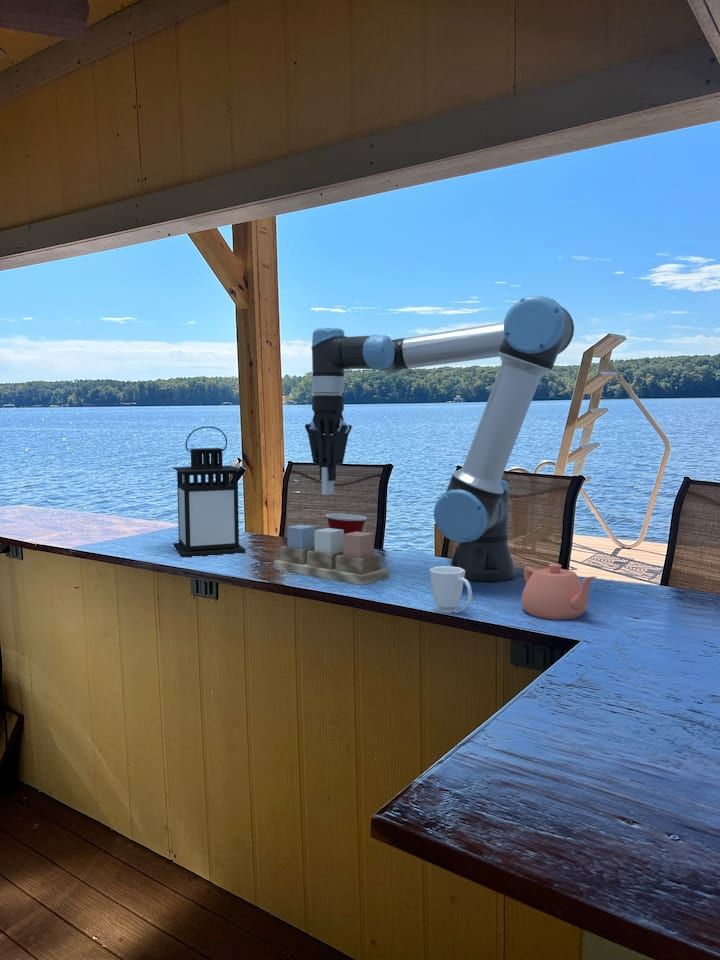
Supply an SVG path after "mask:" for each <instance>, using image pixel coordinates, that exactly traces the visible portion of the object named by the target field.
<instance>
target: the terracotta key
mask: <svg viewBox="0 0 720 960" xmlns="http://www.w3.org/2000/svg"><path fill="white" fill-rule="evenodd" d="M373 553H374V533H372V532H364V531H362V532H352V533H347V534H343V556H347V557H353V558H360V559H361V558H365V557H369V556H373V555H374V554H375V553H374V554H373Z"/></svg>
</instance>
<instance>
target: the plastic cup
mask: <svg viewBox="0 0 720 960" xmlns="http://www.w3.org/2000/svg"><path fill="white" fill-rule="evenodd" d="M325 516H326V518H327V524H328V528H333V529H341V530H344V534H347V533H352V532H363V528H364V525H365V522H366V521H367V519H368V517H367V516H362V515H360V514H359V515H357V514H347V513H328V514H327V513H326V514H325Z"/></svg>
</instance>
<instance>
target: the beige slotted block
mask: <svg viewBox="0 0 720 960" xmlns="http://www.w3.org/2000/svg"><path fill="white" fill-rule="evenodd" d="M373 554H374V555H373V556H369V557H365V558H361V559H360V558H353V557H347V556H343V551H342V552H337V553H333V554H327V553H321V552H315V547H313V548H308V549H304V550H301V549H294V548H288V545H285V546H280V547H279V555H280V557H279V559H277V560H273V564H272V565H273V570H276V571H282V572H287V573H292V574H299V575H303V576H310V577H314V578H321V579H325V580H331V581H336V582H343V583H348V584H352V585H353V584H354V585H359V586H364V585H367V584H371V583H373V582H377V581H381V580H384V579H387V578H389V568H384V567H382V554H379V553H374V552H373Z"/></svg>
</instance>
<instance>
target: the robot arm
mask: <svg viewBox="0 0 720 960" xmlns="http://www.w3.org/2000/svg"><path fill="white" fill-rule="evenodd" d="M574 334H575V324H574V320H573V318H572V316H571V314H570V312H568V310H567V309H566V308H564V307H563V306H562V305H560V304H559V302H557V301H556V300H555V299H552V298H550V297H549V296H542V295H538V294H537V295H529V296H526V297H523V298H521V299H519V300H518V301H516V302H515V303H513V305H511V306H510V308H509V309H508V311H507V313H505V317H504V321H503V322H497V323H492V324H485V325H478V326H471V327H466V328H460V329H459V328H458V329H453V330H447V331H441V332H433V333H427V334H421V335H414V336H409V337H401V338H396V339H392V338H391V337H390V336H388V335H384V334H383V335H382V334H373V335H372V334H371V335H360V336H359V335H357V336H356V335H355V336H346V335H345V331H344V329H343V328H339V327H319V328H316V329H315V330H313V332H312V341H311V348H310V349H311V356H312V357H311V358H312V359H311V360H312V363H311V365H312V369H311V370H312V376H311V378H312V379H311V393H312V394H314V395H313V396H312V397H311V410H312V411H313V416H312V421H311V422H309V423H305V425H304V429H305V431H306V433H307V435H308V441H309V448H310V452H311V458H312V462H313V464H315V465H318V467H319V479H320V480H321V495H325V496H329V495H334V494H335V481H336V480H337V479H336V478H337V467H338V466H340V465H343V464H344V459H345V455H346V449H347V443H348V440H349V439H348V438H349V434H350V433H351V430H352V428H353V426H352V424H348V423H346V422H345V419H344V416H343V411H344V410H345V407H344V406H345V403H344V402H345V397H344V396H343V395H342V394H344V392H345V390H344V389H345V380H344V379H345V378H344V377H345V370H372V371H379V372H386V373H388V374H389V373H400V372H401V371H403V370H404V371H405V370H409V369H417V368H424V367H425V368H426V367H432V366H441V365H446V364H453V363H463V362H469V361H476V360H484V359H485V360H486V359H489V358H490V359H492V358H500V360H501V365H500V367H499V370H498V373H497V375H496V378H495V381H494V384H493V386H492V389H491V391H490V393H489V397H488V399H487V401H486V404H485V407H484V410H483V413H482V415H481V416H480V417H481V418H480V419H479V420H480V421H479V424H478V425H477V429H476V431H475V434H474V436H473V440H472V442H471V444H470V447H469V450H468V452H467V455H466V458H465V460H464V463H463V465H462V467H461V468H460V469H458V470H455V471H454V472H452V475H451V478H450V480H449V482H448V483H449V484H448V485H447V488H446V491H445V492H443V493H442V494H441V495H440V496H439V497H438V500H436V503H435V504H434V508H433V519H434V523H435V524H436V525H435V526H436V527H437V529H438V531H439V532H440V533H441V534H442V535H443V536H444V537H445V538H447V539H448V540H450V541H452V542H455V543H456V542H457V543H456V547H455V549H454V552H453V556H452V559H451V562H450V565H449V566H452V567H460V568H462V569H464V570H465V576H464V578H465V579H466V580H468V581H475V582H498V581H506V580H510V579H512V578H515V570H516V569H515V564H514V561H513V557H512V553H511V551H510V548H509V543H508V535H509V534H508V533H509V532H508V531H509V529H508V528H509V496H510V492H509V484H508V482H507V481H506V480H504V479H503V478H502V477H503V475H504V473H505V469H506V468H507V465H508V462H509V459H510V457H511V454H512V452H513V449H514V446H515V444H516V442H517V439H518V437H519V434H520V432H521V428H522V426H523V423H524V420H525V419H526V417H527V413H528V412H529V411H528V410H529V408H530V406H531V404H532V400H533V398H534V395H535V394H536V390H537V389H538V386H539V383H540V380H541V378H542V377H543V376H544V375H546V374H548V373H550V372H552V370H553V367H554V365H555V362H556V360H557V357H558V355H559V354H561V353H562V352H564V351H565V350H566V349H567V348H568V347H569V346H570V344H571V342H572V340H573V337H574Z"/></svg>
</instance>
